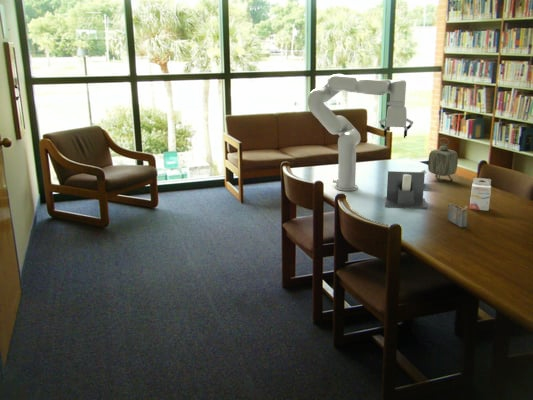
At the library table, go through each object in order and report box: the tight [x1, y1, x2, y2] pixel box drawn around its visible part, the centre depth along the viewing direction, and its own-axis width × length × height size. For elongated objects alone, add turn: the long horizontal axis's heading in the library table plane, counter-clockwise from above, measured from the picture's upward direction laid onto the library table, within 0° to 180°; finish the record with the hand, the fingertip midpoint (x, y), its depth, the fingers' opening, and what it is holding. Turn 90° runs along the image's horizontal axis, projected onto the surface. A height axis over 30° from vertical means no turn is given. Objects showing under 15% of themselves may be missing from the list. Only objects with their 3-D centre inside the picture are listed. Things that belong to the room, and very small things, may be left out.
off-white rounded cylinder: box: [402, 174, 411, 191], centre depth 266 cm, size 4×4×12 cm
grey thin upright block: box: [446, 203, 470, 228], centre depth 239 cm, size 11×3×10 cm, turn 13°
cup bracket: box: [383, 170, 428, 210], centre depth 268 cm, size 15×20×15 cm
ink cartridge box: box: [469, 177, 492, 212], centre depth 258 cm, size 9×5×15 cm, turn 71°
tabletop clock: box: [427, 137, 459, 182], centre depth 310 cm, size 14×9×25 cm, turn 34°
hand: (395, 137), depth 281 cm, fingers open, 9 cm apart
